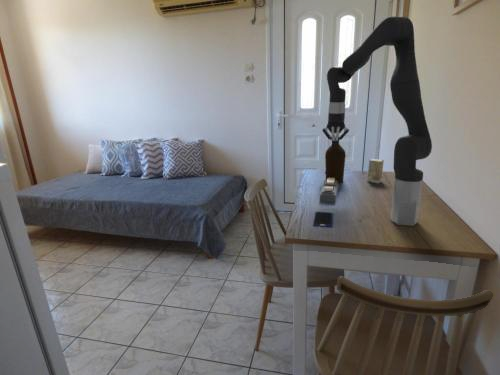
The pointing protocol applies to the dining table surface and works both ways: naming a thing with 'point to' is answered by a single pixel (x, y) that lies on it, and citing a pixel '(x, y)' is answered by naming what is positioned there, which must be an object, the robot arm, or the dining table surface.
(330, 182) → the far switch
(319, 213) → the cell phone
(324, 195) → the switch panel
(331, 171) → the olive oil
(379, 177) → the skincare box
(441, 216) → the dining table surface
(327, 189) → the near switch
